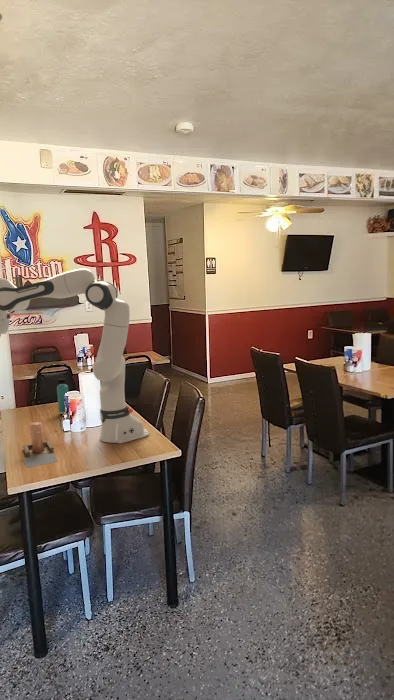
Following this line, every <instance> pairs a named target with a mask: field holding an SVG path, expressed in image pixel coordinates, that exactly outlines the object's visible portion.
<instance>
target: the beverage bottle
mask: <svg viewBox="0 0 394 700" xmlns="http://www.w3.org/2000/svg"><path fill="white" fill-rule="evenodd" d="M57 383H58V385H57V386H56V394H57V403H58V404H57V407H58V408H57V409H58V412H59V413H66V412H65V405H64V395H65V393H67V392H69V393H70V391H69V386H68V384H66V378H58V380H57Z"/></svg>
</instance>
